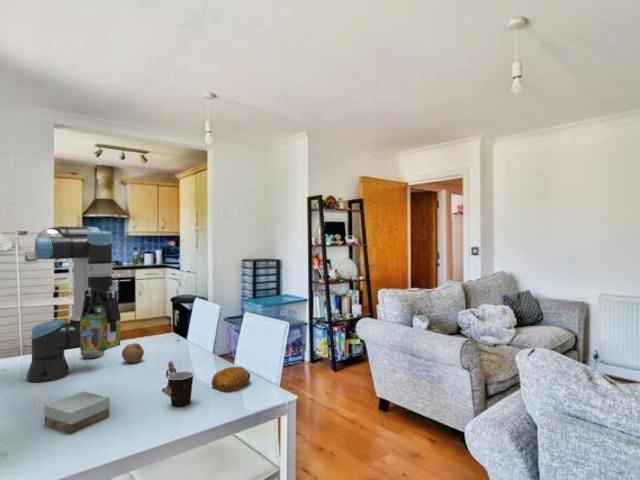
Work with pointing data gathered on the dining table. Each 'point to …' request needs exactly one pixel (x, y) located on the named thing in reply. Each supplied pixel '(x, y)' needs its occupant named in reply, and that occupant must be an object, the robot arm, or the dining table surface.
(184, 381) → the coffee mug
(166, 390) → the brown scrollwork ornament
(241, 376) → the potato
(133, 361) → the onion
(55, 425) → the walnut base slab
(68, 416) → the grey-green top slab
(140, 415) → the dining table surface
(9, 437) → the dining table surface
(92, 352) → the grey rounded lump
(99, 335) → the chalk box
